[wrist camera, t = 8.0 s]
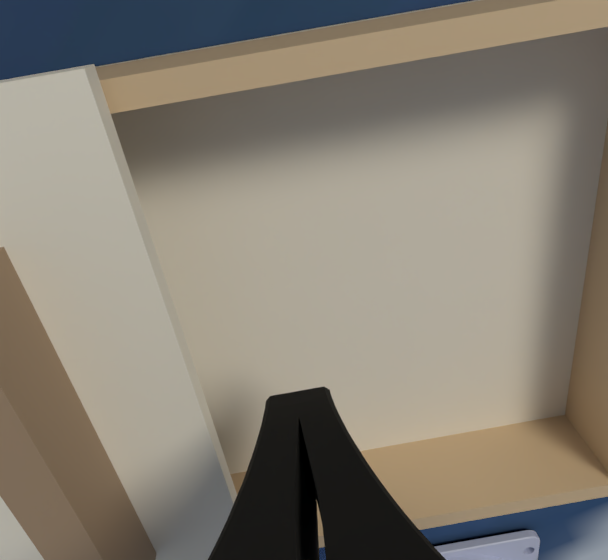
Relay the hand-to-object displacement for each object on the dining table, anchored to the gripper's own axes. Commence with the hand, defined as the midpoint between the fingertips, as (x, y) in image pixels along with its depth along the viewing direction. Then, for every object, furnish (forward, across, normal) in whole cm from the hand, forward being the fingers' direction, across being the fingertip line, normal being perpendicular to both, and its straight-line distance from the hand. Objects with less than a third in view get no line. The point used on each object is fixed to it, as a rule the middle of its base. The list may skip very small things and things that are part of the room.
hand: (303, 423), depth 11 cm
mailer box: (+5, 0, 0) cm, 5 cm away
